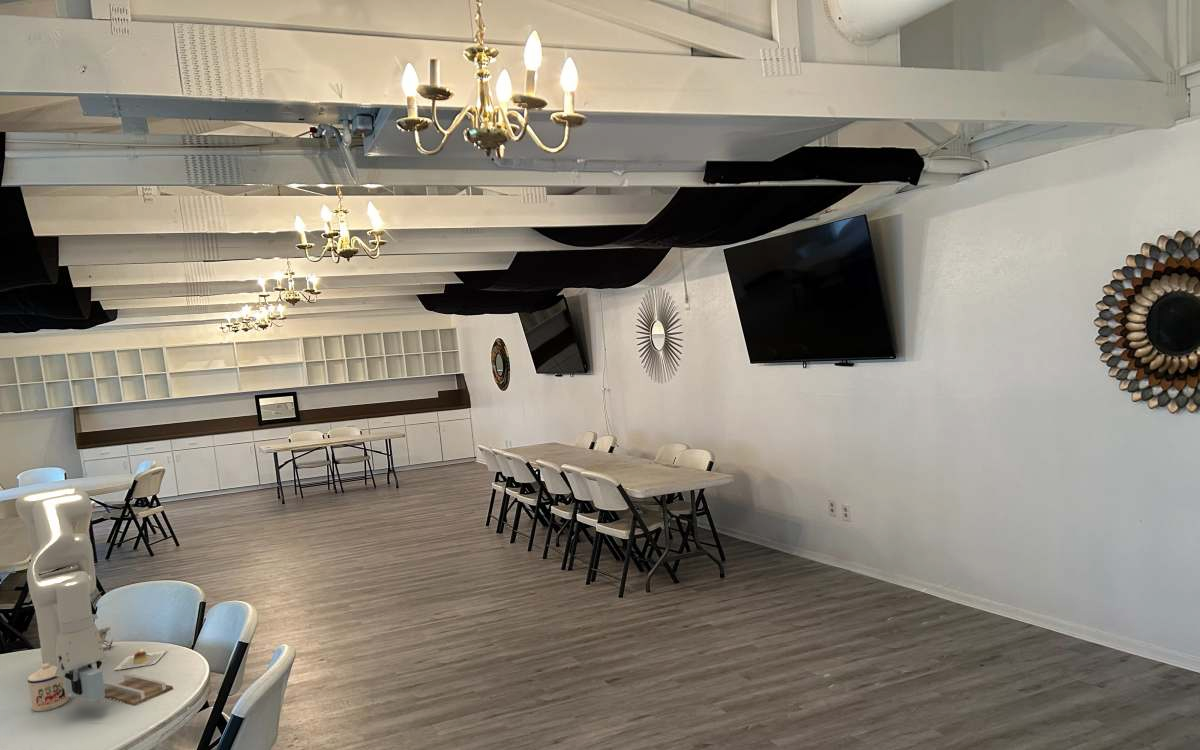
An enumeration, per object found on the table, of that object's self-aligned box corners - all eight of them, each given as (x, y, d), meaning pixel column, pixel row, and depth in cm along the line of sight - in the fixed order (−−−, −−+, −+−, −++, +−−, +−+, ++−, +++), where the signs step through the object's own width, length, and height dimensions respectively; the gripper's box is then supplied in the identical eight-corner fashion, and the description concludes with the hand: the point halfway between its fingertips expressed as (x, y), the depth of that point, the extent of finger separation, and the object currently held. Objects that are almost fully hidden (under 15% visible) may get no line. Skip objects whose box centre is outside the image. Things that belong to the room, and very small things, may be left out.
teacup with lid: (34, 715, 227) (28, 673, 227) (29, 706, 234) (23, 666, 234) (84, 699, 235) (79, 659, 235) (78, 691, 242) (73, 652, 241)
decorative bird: (59, 657, 275) (56, 635, 275) (115, 645, 282) (112, 624, 281) (56, 662, 270) (53, 640, 270) (113, 650, 277) (110, 628, 276)
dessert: (113, 673, 256) (111, 658, 255) (127, 659, 267) (125, 645, 267) (155, 666, 258) (153, 651, 258) (167, 653, 270) (165, 638, 269)
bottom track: (96, 695, 237) (95, 685, 237) (134, 679, 247) (133, 670, 247) (134, 705, 227) (133, 695, 227) (173, 688, 236) (171, 679, 236)
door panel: (66, 692, 227) (63, 667, 227) (78, 687, 230) (75, 663, 229) (93, 701, 220) (90, 675, 219) (105, 696, 222) (101, 670, 222)
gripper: (100, 612, 232) (108, 676, 233) (36, 634, 218) (45, 701, 220) (115, 615, 228) (123, 680, 229) (50, 637, 214) (59, 706, 216)
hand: (85, 690), depth 225 cm, fingers closed on door panel, 3 cm apart
